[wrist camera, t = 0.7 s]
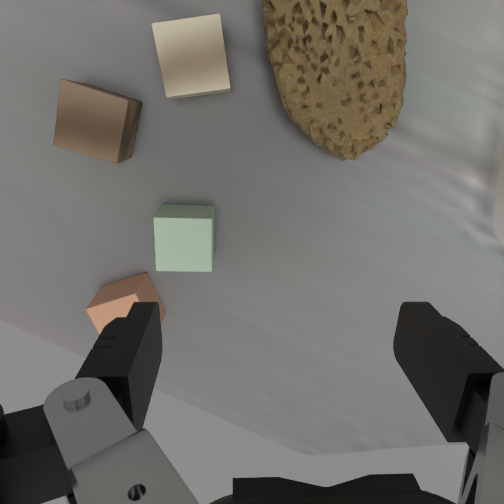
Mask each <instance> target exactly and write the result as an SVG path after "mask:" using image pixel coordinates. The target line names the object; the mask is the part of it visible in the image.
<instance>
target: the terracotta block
mask: <svg viewBox="0 0 504 504" xmlns="http://www.w3.org/2000/svg"><path fill="white" fill-rule="evenodd" d="M134 302H158V303H159V309H160V321H161V323H162V320H163V317H164V314H165V310H164V308H163V306H162V304H161V302H160V299H159V297H158V295H157V293H156V291H155V289H154V286H153V284H152V282H151V280H150V278H149V276H148V273H147V272H145V273H142V274H139V275H136V276H133V277H130V278H127V279H123V280H120V281H117V282H114V283H111V284H108V285H105V286H102V288H101V289H100V290H99V292H98V293H97V294H96V296H95V297H94V298H93V300H92V301H91V303H90V304H89V305H88V307H87V308H86V311H87V313H88V315H89V316H90V318H91V320H92V322H93V324H94V325H95V327H96V329H97V331H98V333H99V334H100V333H101V332H102V330H103V328H104V326H106V325H107V324H108V323H110V322H111V321H112V320H113V319H115V318H116V317H126V316H127V314H128V312H129V310H130V308H131V306H132V304H133V303H134Z"/></svg>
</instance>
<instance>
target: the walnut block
mask: <svg viewBox="0 0 504 504" xmlns="http://www.w3.org/2000/svg"><path fill="white" fill-rule="evenodd" d="M141 107H142V102H141V101H138V100H135V99H132V98H129V97H125V96H122V95H119V94H116V93H113V92H110V91H107V90H104V89H101V88H97V87H94V86H91V85H88V84H85V83H79V82H74V81H69V80H64V79H61V87H60V95H59V103H58V110H57V118H56V126H55V134H54V142H53V145H54V146H58V147H61V148H65V149H68V150H71V151H75V152H78V153H82V154H85V155H88V156H92V157H95V158H99V159H102V160H105V161H109V162H112V163H116V164H117V163H120V162H122V161H124V160H126V159H128V158H130V157H132V153H133V148H134V143H135V137H136V132H137V127H138V122H139V117H140V112H141Z"/></svg>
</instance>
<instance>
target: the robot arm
mask: <svg viewBox="0 0 504 504" xmlns="http://www.w3.org/2000/svg"><path fill="white" fill-rule="evenodd" d="M393 349H394V354H395V358H396V360H397V362H398V363H399V365H400V367H401V368H402V370H403V371H404V373H405V375H406V376H407V378H408V379H409V381H410V383H411V384H412V386H413V387H414V389H415V391H416V392H417V394H418V395H419V397H420V399H421V400H422V402H423V403H424V405H425V407H426V408H427V410H428V411H429V413H430V415H431V416H432V418H433V419H434V421H435V423H436V424H437V426H438V427H439V429H440V431H441V432H442V434H443V435H444V437H445V439H446V440H447V442H466V443H467V444H468V446H469V449H468V452H467V455H466V459H465V465H464V470H463V476H462V481H461V487H460V492H459V498H458V503H457V504H504V369H503V368H502V367H501V366H500V365H499V364H498V363H497V362H496V361H495V360H494V359H493V358H492V357H491V356H490V355H489V354H488V353H487V352H486V351H485V350H484V349H483V348H482V347H481V346H479V345H478V343H477V342H476V341H475V340H474V339H473V338H470V335H469V334H468V333H467V332H466V331H465V330H464V329H463V328H462V327H461V326H460V325H458V324H457V323H455V322H453V321H452V320H450V319H448V318H446V317H443V316H442V315H441V314H440V313H439V312H438V311H437V310H436V309H435V308H434V307H433V306H432V305H431V304H430V303H429V302H403V303H402V305H401V307H400V311H399V316H398V321H397V326H396V332H395V337H394V342H393ZM161 357H162V334H161V321H160V309H159V303H158V302H134V303H133V304H132V306H131V308H130V310H129V312H128V314H127V316H126V317H116V318H115V319H113V320H112V321H111V322H110V323H108V324H107V325H106V326H104V328H103V330H102V332H101V333H100V335H99V337H98V340H96V342H95V344H94V346H93V349H91V351H90V353H89V354H88V356H87V358H86V360H85V362H84V363H83V365H82V367H81V369H80V370H79V372H78V374H77V376H76V377H75V379H74V380H71V381H68V382H66V383H64V384H62V385H60V386H58V387H57V388H56V389H54V390H53V391H52V392H51V393H50V394H49V395H48V397H47V398H46V400H45V402H44V404H43V405H40V406H37V407H33V408H30V409H25V410H21V411H17V412H13V413H9V414H5V415H4V411H3V408H2V406H1V405H0V504H41V503H44V502H47V501H50V500H53V499H56V498H60V497H63V496H65V498H66V501H67V504H199V503H198V501H197V500H196V498H195V497H194V496H193V494H192V492H191V491H190V490H189V488H188V487H187V485H186V484H185V483H184V481H183V480H182V478H181V477H180V475H179V474H178V472H177V471H176V470H175V468H174V467H173V466H172V464H171V462H170V461H169V460H168V458H167V457H166V455H165V454H164V452H163V451H162V449H161V448H160V447H159V445H158V444H157V442H156V441H155V439H154V438H153V436H152V435H151V434H150V433H149V431H148V430H146V429H145V428H143V424H144V421H145V417H146V413H147V410H148V406H149V403H150V399H151V395H152V392H153V388H154V384H155V381H156V377H157V374H158V370H159V366H160V363H161ZM142 428H143V429H142ZM210 504H455V503H453V502H451V501H450V500H448V499H445V498H443V497H441V496H438V495H435V494H432V493H429V492H426V491H422V490H421V489H420V487H419V485H418V483H417V481H416V479H415V477H414V475H413V474H378V475H377V474H376V475H367V476H364V477H361V478H357V479H354V480H351V481H347V482H344V483H341V484H338V485H334V486H331V487H321V486H316V485H312V484H307V483H303V482H298V481H294V480H289V479H284V478H280V477H261V478H233V494H231V495H228V496H225V497H222V498H220V499H218V500H215V501H214V502H212V503H210Z"/></svg>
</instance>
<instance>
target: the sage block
mask: <svg viewBox="0 0 504 504" xmlns="http://www.w3.org/2000/svg"><path fill="white" fill-rule="evenodd" d="M153 219H154V237H155V256H156V271H189V272H212V266H213V258H214V206H211V205H174V204H163V205H162V207H161V208H160V209H159V211H158V212H157V213H156V215H155V216H154V217H153Z"/></svg>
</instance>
